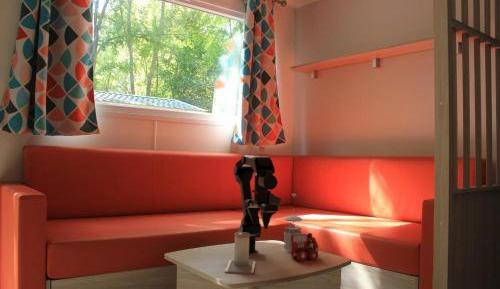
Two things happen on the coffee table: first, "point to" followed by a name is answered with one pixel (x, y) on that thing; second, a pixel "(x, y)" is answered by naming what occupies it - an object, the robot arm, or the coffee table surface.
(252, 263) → the mat
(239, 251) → the canister
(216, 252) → the coffee table surface
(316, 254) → the toy fire truck
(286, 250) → the french press
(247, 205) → the robot arm
